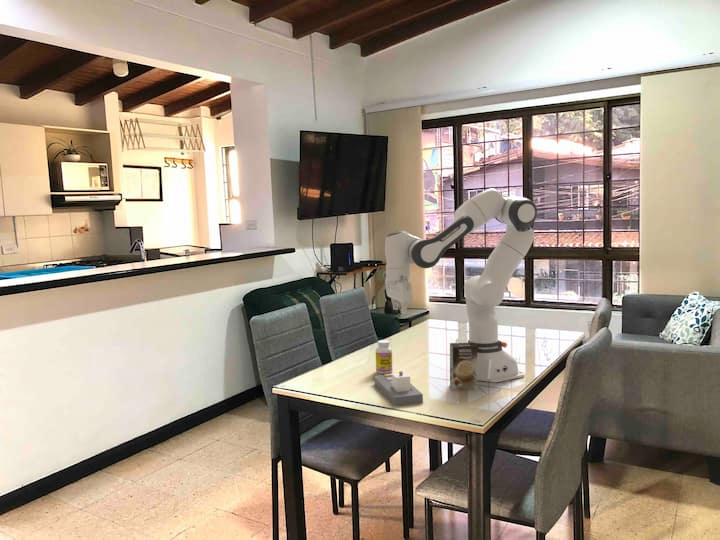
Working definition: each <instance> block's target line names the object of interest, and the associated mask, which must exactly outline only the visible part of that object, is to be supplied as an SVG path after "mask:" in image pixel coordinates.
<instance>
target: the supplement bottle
mask: <svg viewBox="0 0 720 540" xmlns="http://www.w3.org/2000/svg"><path fill="white" fill-rule="evenodd" d="M375 371H376V373H377V374H380V375H384V374H392V372H393V349H392V348H391V346H390V340H388V339H387V340H386V339H380V340H378V341H377V347H376V348H375Z"/></svg>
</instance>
